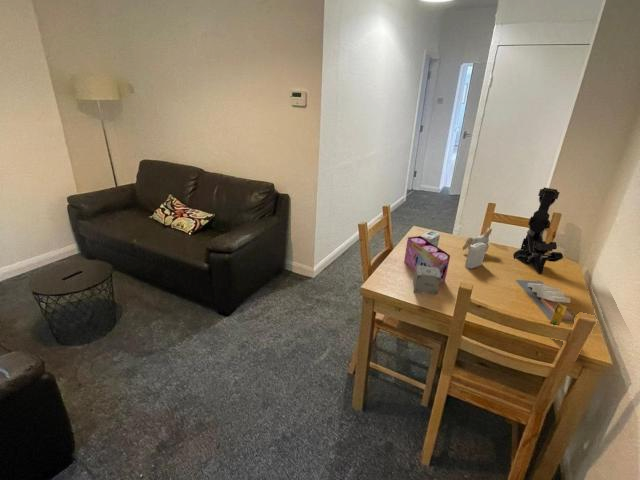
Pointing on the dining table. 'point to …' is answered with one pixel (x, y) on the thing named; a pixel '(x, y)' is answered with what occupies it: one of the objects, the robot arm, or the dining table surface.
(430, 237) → the light bulb box
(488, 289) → the dining table surface
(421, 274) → the grey cardboard box
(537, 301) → the mat
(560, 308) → the crayon box
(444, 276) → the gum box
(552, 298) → the domino
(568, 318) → the domino
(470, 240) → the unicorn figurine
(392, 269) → the dining table surface
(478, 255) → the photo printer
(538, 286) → the domino
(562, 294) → the domino
